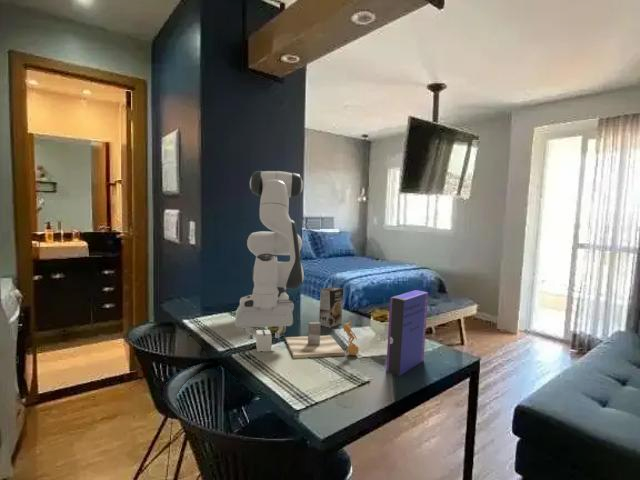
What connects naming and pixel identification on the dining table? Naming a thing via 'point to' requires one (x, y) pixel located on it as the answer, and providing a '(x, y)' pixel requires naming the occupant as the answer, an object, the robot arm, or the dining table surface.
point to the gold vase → (276, 329)
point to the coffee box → (331, 306)
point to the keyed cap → (263, 340)
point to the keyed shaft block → (314, 344)
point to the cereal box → (406, 331)
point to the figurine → (352, 347)
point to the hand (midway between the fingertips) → (263, 338)
